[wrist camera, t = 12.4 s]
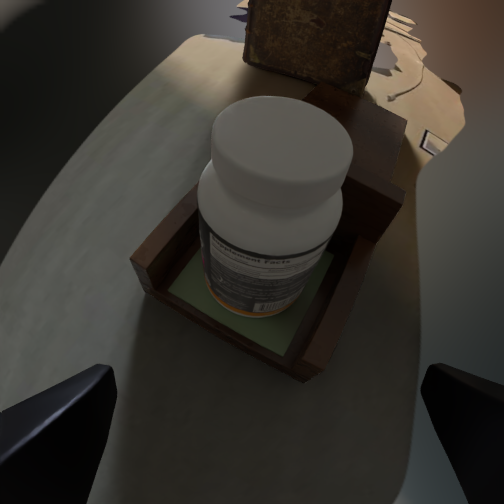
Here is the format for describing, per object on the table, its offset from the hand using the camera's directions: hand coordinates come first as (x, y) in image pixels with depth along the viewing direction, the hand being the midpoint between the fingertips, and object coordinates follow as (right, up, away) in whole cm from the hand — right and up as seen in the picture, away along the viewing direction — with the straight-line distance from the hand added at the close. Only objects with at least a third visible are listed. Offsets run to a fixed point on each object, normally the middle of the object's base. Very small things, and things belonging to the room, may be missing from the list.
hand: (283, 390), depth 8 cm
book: (+6, +27, +29) cm, 40 cm away
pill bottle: (-1, +2, +11) cm, 11 cm away
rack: (+5, +9, +17) cm, 20 cm away
